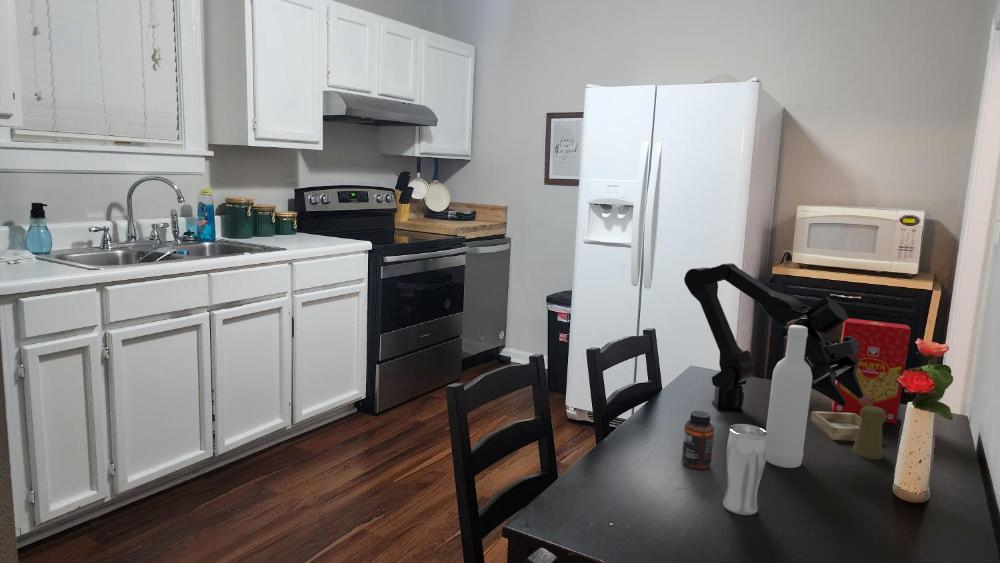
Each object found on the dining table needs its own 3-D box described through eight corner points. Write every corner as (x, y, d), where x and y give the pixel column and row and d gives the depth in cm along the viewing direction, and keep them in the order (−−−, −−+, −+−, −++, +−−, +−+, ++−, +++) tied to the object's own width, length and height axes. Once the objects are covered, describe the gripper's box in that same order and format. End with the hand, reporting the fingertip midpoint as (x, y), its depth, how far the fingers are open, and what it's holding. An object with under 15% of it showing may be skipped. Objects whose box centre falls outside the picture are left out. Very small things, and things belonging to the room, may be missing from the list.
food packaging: (833, 413, 179) (845, 321, 175) (831, 407, 184) (843, 317, 180) (896, 423, 173) (910, 329, 169) (893, 417, 178) (907, 325, 174)
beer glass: (755, 520, 120) (764, 441, 118) (715, 509, 124) (724, 431, 121) (763, 505, 126) (772, 429, 123) (725, 494, 129) (733, 420, 127)
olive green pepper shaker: (887, 460, 150) (895, 413, 148) (860, 458, 150) (867, 411, 148) (873, 449, 156) (880, 403, 154) (847, 447, 156) (853, 402, 154)
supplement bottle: (712, 462, 144) (717, 412, 142) (708, 473, 139) (713, 421, 137) (683, 456, 146) (688, 406, 144) (678, 466, 141) (684, 415, 139)
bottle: (756, 459, 146) (772, 325, 141) (770, 449, 152) (786, 320, 147) (794, 472, 141) (811, 333, 136) (807, 461, 147) (824, 327, 142)
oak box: (831, 439, 160) (833, 427, 160) (810, 422, 171) (811, 411, 170) (877, 441, 160) (879, 429, 160) (853, 424, 171) (855, 413, 171)
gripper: (820, 330, 150) (865, 391, 143) (855, 321, 161) (899, 377, 155) (782, 356, 157) (824, 415, 150) (819, 345, 169) (859, 400, 162)
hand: (853, 401), depth 154 cm, fingers open, 9 cm apart
